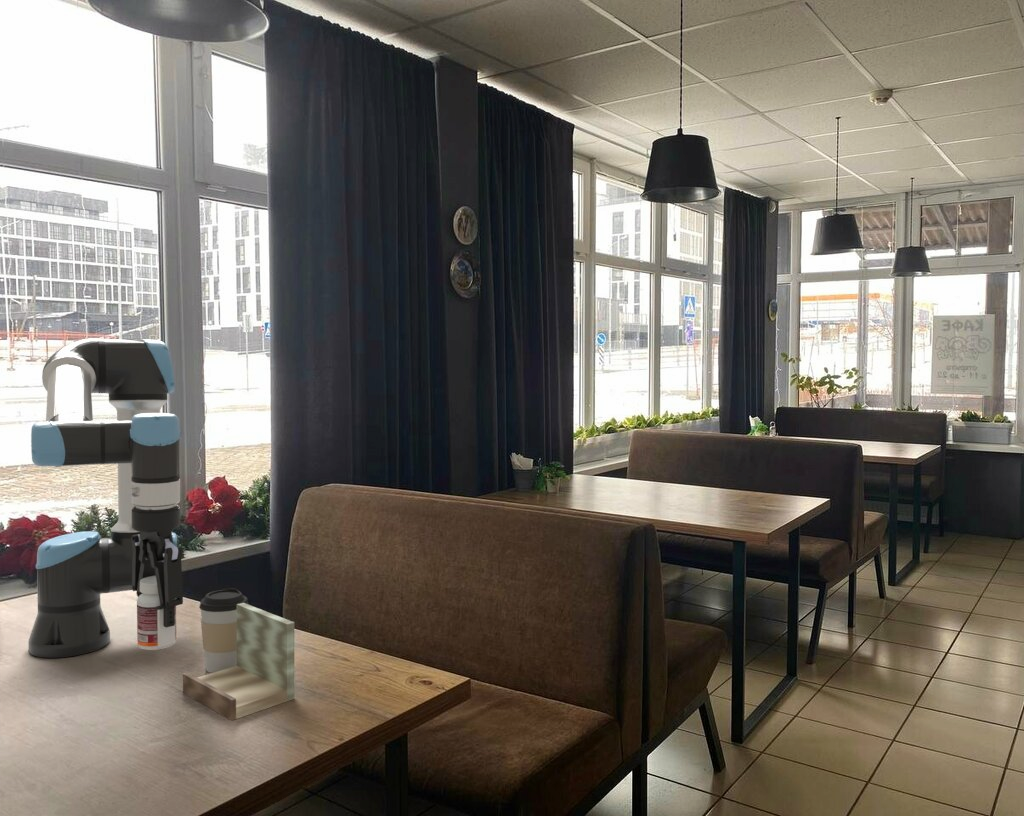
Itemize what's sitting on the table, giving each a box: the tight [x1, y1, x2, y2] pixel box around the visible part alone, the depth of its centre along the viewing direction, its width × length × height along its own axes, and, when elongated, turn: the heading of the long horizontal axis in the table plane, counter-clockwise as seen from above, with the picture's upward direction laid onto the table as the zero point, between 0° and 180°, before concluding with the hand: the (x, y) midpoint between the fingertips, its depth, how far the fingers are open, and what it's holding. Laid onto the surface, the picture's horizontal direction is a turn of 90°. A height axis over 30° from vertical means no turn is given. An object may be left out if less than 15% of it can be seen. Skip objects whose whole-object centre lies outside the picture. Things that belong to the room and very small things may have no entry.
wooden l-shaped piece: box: [182, 603, 295, 721], centre depth 149 cm, size 17×12×14 cm
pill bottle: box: [136, 576, 177, 651], centre depth 140 cm, size 6×6×11 cm
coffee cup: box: [199, 587, 249, 674], centre depth 162 cm, size 9×9×15 cm
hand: (157, 638), depth 140 cm, fingers closed on pill bottle, 6 cm apart
